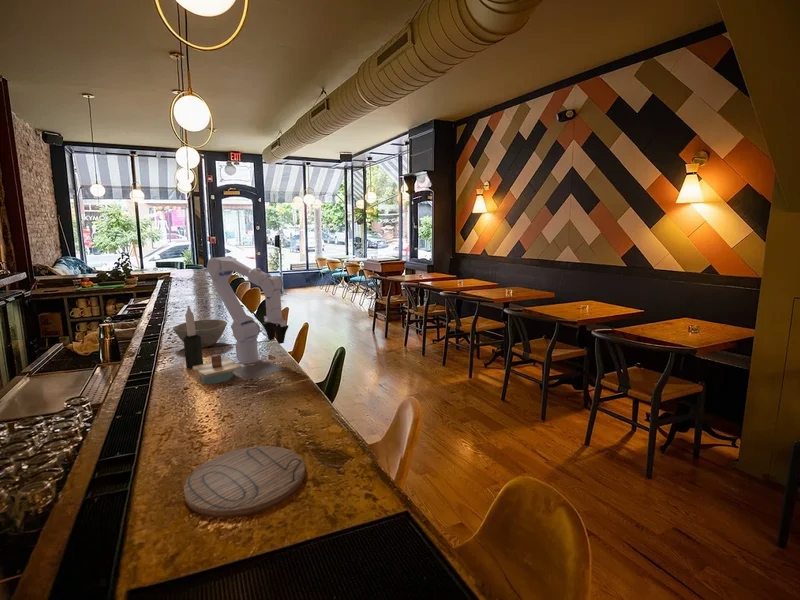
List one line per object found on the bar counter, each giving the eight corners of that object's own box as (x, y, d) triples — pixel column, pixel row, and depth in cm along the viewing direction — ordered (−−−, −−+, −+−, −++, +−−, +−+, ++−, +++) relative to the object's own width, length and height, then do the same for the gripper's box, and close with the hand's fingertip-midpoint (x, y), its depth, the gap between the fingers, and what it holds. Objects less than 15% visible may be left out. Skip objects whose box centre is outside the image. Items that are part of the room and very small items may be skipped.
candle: (204, 366, 180) (198, 304, 175) (197, 370, 175) (191, 306, 170) (192, 366, 180) (185, 304, 176) (185, 370, 175) (178, 306, 171)
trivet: (263, 443, 117) (262, 436, 116) (328, 475, 101) (328, 468, 101) (163, 488, 98) (162, 480, 97) (224, 537, 82) (223, 528, 82)
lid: (192, 369, 164) (191, 355, 163) (228, 361, 172) (227, 348, 171) (204, 377, 154) (203, 363, 153) (242, 368, 162) (240, 355, 161)
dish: (198, 380, 164) (196, 369, 163) (225, 373, 170) (224, 363, 170) (208, 387, 156) (207, 376, 156) (236, 379, 163) (235, 369, 162)
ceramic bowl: (175, 343, 215) (173, 322, 213) (227, 337, 225) (225, 317, 223) (174, 355, 195) (171, 333, 193) (231, 348, 205) (228, 326, 203)
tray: (231, 371, 172) (231, 369, 172) (268, 362, 182) (267, 360, 182) (248, 380, 161) (248, 379, 161) (286, 370, 171) (286, 369, 171)
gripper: (255, 306, 178) (258, 340, 180) (273, 311, 167) (275, 347, 170) (272, 304, 183) (274, 336, 185) (290, 308, 172) (292, 343, 174)
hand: (276, 341), depth 178 cm, fingers open, 7 cm apart
